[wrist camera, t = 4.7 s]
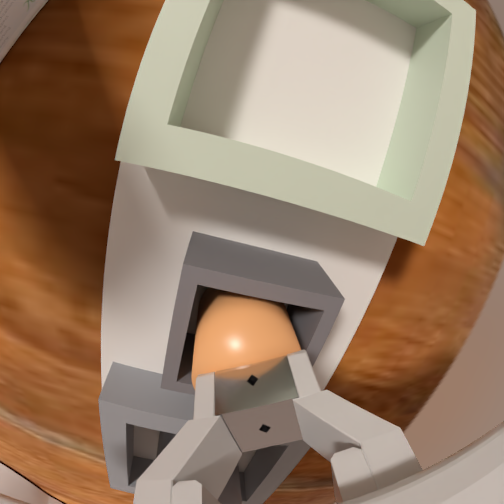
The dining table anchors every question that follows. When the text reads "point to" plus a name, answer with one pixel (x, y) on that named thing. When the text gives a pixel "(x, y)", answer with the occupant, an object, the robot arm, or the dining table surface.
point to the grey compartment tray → (268, 189)
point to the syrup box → (15, 20)
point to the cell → (232, 490)
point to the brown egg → (239, 332)
